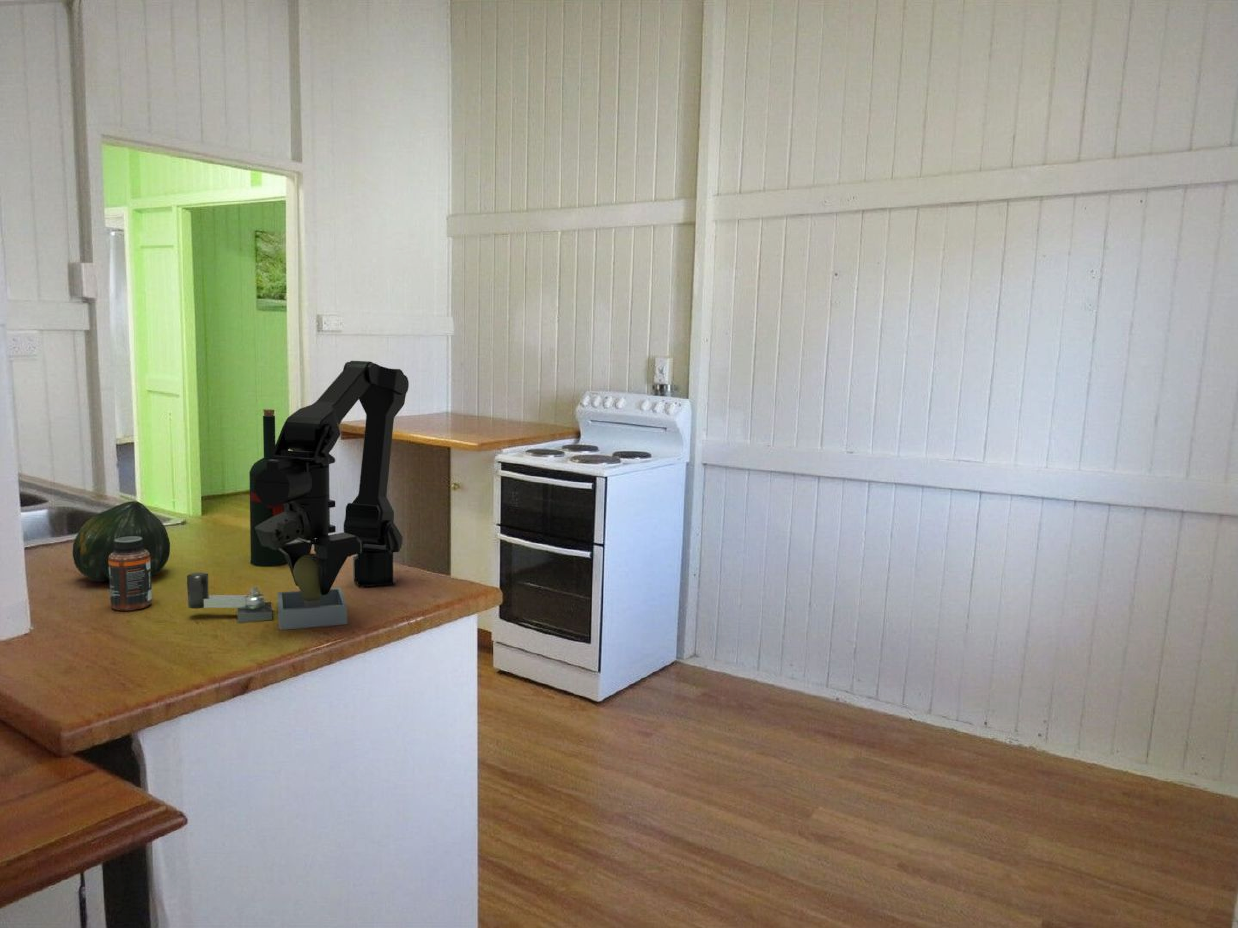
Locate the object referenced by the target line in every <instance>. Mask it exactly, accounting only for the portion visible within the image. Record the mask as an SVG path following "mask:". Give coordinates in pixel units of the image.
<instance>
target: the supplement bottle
mask: <svg viewBox="0 0 1238 928" xmlns="http://www.w3.org/2000/svg"><path fill="white" fill-rule="evenodd" d="M114 543H115V545H114V547H115V550H114V551H113V552H112V553H111V554H110V555H109V559H108V562H109V580H108V581H109V596H110V598H109V600H110V608H112V609H114V610H116V611H126V612H127V611H128V612H129V611H135V610H142V609H143V608H148V607H149V606H150V605H151V604H152V601H153V593H152V592H153V591H152V589H153V588H152V587H153V586H152V576H151V565H150V554H149V552H148V551H147V550H145V549H144V548H143V539H142V537H137V536H129V537H121V538H117V539H115V540H114Z"/></svg>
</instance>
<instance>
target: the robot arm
mask: <svg viewBox="0 0 1238 928" xmlns="http://www.w3.org/2000/svg"><path fill="white" fill-rule="evenodd" d="M409 385H410V383H409V378H408V376H407V375H406V374H404V372H403V370H402V369H400V368H388V367H385V366H383V365H382V366H381V365H379V364H377V363H376V362H373V361H370V360H369V361H367V360H350V361H346V362H345V363H344V365H343V370H342V371H341V372H340V374H339V375H338V376H337V377H336V378H335V380H333V381H332V383H331V384H330V385H329V386H328V387H327V388H326V390H325V391H324V392H323V393H322V394H321V396H320V397H319V398H317V400H316V401H314V403H312V404H309V405H307V406H304V407H301V408H299V409H297V410H296V411H294V412H293V413H292V414H291V415H289V416H288V417H287V418H286V419H285V421H284V424H283V426H282V428H281V431H280V433H279V435H278V437H277V440H276V441H275V447H274V450H273V453H272V455H271V460H267V469H264V470H263V471H261V472H260V473H259V475H258V476H257V479H256V482H255V486H254V487H255V492H256V494H257V496H258V498H259V499H260V500H261V501H262V502H263V503H264V504H266V505H268V506H273V507H274V506H279V505H282V504H284V512H283V513H280V514H278V515H275V516H273V517H271V518H270V519H268V520H266V521H264V522H262V523H260V524H259V525H257V526H256V527H255V530H256V532H257V535H258V537H259V540H260V542H261V545H262V546H264V547H265V546H267V547H270V548H271V549H273V550H277V549H279V550H280V551H281V552H283V554H284V555H285V558H286V560H287V562H288V564H287V565H288V567H289V569H290V573H291V576H292V579H293V582H294V584H295V586H297V587H298V585H297V583H296V581H295V579H294V575H293V569H294V566H295V564H296V562H297V561H298V560H299V559H300V558H301V557H302V556H304V555H306V554H312V547H314V548H313V550H314V551H313V552H314V554H316V555H312V556H310V558H311V559H312V560H313V561H314V562H315V563H316V564H317V567H318V576H319V586H320V591H321V595H327V594H328V593H329V591H330V589H332V587H333V585H334V583H335V581H336V579H337V576H338V575H339V573H340V571H341V569H342V567H343V566H344V564H345V562H346V560H347V559H348V558H350V557H352V556H353V557H352V578H353V580H354V582H355V583H356V584H357V586H358V587H359V588H364V587H365V588H366V587H379V586H380V587H381V586H392V585H395V584H396V581H395V579H394V553H400V551H401V549H402V545H403V537H404V536H402V534H401V532H400V530H399V529H398V527H397V526H396V524H395V521H394V520H395V512H394V509H393V507H392V505H391V503H390V500H389V499H388V497H387V493H388V485H389V484H388V482H389V473H390V462H391V454H392V453H391V452H392V441H393V432H394V431H393V430H394V421H395V417H396V416H397V414H399V412H400V411H401V410H402V408H403V407H404V406H405V402H406V396H407V393H408V391H409ZM358 401H359V403H360V405H361V406H362V409H363V411H364V412H365V423H364V424H365V426H364V435H363V445H362V446H363V447H362V455H361V466H360V476H359V477H360V478H359V489H358V495H357V496H356V497H355V498H354V500H353V501H352V502H348V503H347V504H346V506H345V517H344V522H343V532H339V533H336V530H337V529H336V525H333V524H331V519H330V518H331V514H330V512H331V511H330V510H331V509H330V508H336V500H333V499H331V496H330V465H331V464H335V463H336V458H335V457H334V456H333V455H332V454H330V453H331V451H332V450H333V448H334V447H335V445H336V443H337V441H339V440H338V439H339V438H340V436H341V429H340V425H341V423H342V421H343V420H344V418H345V417H346V416H347V414H348V413H349V412H350V411H351V409H353V407H354V406H355V405H356V403H357V402H358ZM332 533H334V534H332Z"/></svg>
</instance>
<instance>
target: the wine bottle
mask: <svg viewBox="0 0 1238 928" xmlns="http://www.w3.org/2000/svg"><path fill="white" fill-rule="evenodd" d="M262 410H263V415H262V429H263V430H262V433H263V434H262V437H263V439H262V440H263V441H262V442H263V444H262V445H263V457H262V458H260V459H259V460H257V461H256V462H254V463H253V464H252V466H251V468H250V470H249V529H250V530H249V531H250V532H249V534H250V543H249V544H250V545H249V546H250V565H252V566H255V567H263V568H266V567H267V568H268V567H269V568H270V567H280V566H285V565H288V562H287V560H286V558H285V555H284V554H283V552H281V551H280V550H279V549H277V550H273V549H271V548H270V547H267V546H265V547H264V546H262V545H261V542H260V540H259V537H258V535H257V532H256V530H255V527H256V526H257V525H259V524H260V523H262V522H264V521H266V520H268V519H270V518H271V517H273V516H275V515H278V514H280V513H283V512H284V504H282V505H279V506H274V507H273V506H268V505H266V504H264V503H263V502H262V501H261V500H260V499H259V498H258V496H257V494H256V492H255V487H254V486H255V482H256V479H257V476H258V475H259V473H260V472H261V471H263V470H264V469H267V460H271V455H272V453H273V450H274V447H275V445H276V416H275V409H273V408H270V409H267V408H264V409H262Z"/></svg>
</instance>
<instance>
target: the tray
mask: <svg viewBox="0 0 1238 928" xmlns="http://www.w3.org/2000/svg"><path fill="white" fill-rule="evenodd" d="M277 615H278V626H279V631H282V630H283V631H284V630H285V631H286V630H294V629H295V630H296V629H308V628H317V627H318V628H320V627H328V626H340V625H348V604H347V600H346V598H345V595H344V591H343V589H342V588H341V587H334V588H332V587H331V589H330V591H329V593H328V594H327V595H322V597H321V599H320V607H311V608H304V599H303V598H302V595H301V591H300V590H294V591H293V590H290V591H279V592H277Z"/></svg>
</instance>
